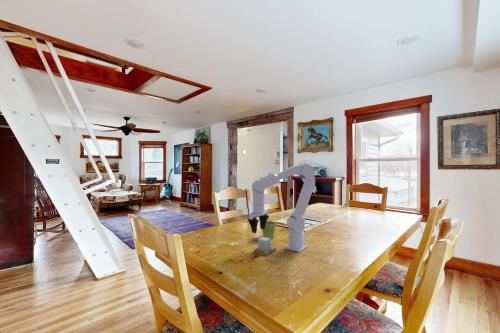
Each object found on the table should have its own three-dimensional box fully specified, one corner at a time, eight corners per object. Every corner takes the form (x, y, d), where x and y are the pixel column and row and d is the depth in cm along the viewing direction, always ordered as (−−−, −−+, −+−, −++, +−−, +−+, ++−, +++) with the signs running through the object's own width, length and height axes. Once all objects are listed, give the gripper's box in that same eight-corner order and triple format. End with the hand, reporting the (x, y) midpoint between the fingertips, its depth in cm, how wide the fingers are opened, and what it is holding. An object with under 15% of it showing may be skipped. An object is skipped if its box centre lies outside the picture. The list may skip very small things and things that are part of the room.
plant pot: (274, 241, 129) (274, 225, 129) (258, 239, 132) (258, 224, 132) (278, 236, 138) (278, 221, 138) (263, 234, 141) (263, 220, 141)
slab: (262, 248, 120) (262, 244, 119) (275, 252, 115) (275, 248, 115) (253, 253, 113) (253, 249, 113) (267, 257, 108) (267, 253, 108)
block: (263, 246, 117) (263, 236, 117) (270, 248, 114) (270, 238, 114) (258, 249, 114) (258, 239, 113) (265, 251, 111) (265, 241, 111)
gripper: (259, 201, 123) (259, 226, 123) (243, 205, 111) (243, 232, 111) (271, 202, 119) (271, 228, 119) (255, 206, 107) (255, 235, 107)
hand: (258, 230), depth 115 cm, fingers open, 7 cm apart
